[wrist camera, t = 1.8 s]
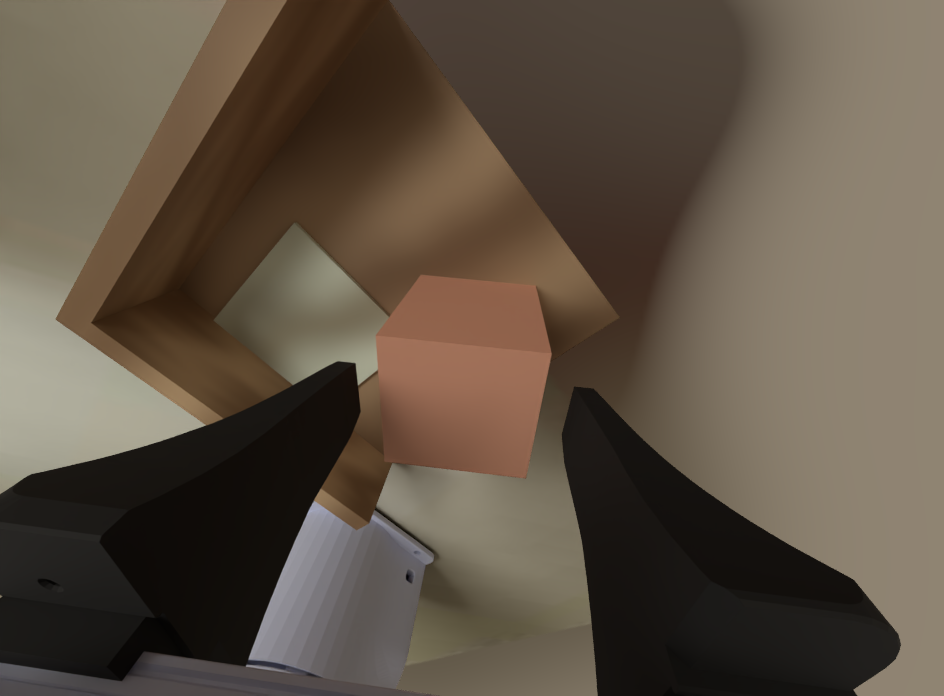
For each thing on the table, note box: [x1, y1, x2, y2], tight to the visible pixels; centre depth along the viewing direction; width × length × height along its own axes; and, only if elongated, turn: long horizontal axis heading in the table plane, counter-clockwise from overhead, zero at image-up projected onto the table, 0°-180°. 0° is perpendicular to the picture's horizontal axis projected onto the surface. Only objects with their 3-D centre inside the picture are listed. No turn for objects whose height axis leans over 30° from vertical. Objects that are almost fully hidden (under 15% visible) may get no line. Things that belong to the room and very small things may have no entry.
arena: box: [56, 0, 620, 530], centre depth 15 cm, size 15×16×5 cm
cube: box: [376, 275, 552, 478], centre depth 14 cm, size 5×5×6 cm
